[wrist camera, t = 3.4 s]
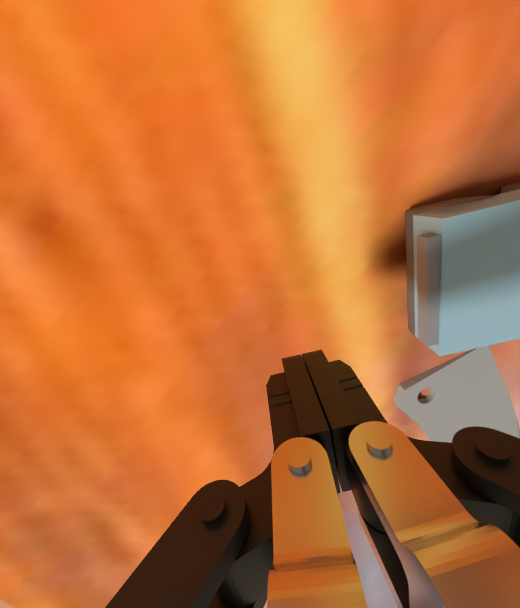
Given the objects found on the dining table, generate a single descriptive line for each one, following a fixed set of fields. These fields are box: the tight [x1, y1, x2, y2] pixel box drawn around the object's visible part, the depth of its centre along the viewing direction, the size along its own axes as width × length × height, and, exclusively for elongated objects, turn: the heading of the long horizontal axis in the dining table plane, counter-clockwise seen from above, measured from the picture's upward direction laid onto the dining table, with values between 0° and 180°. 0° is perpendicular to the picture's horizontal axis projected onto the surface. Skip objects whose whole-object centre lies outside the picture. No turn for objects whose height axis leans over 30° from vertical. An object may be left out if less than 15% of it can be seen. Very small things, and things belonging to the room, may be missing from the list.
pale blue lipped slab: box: [405, 181, 520, 356], centre depth 15 cm, size 7×10×4 cm
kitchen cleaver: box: [393, 345, 520, 443], centre depth 24 cm, size 24×1×10 cm
